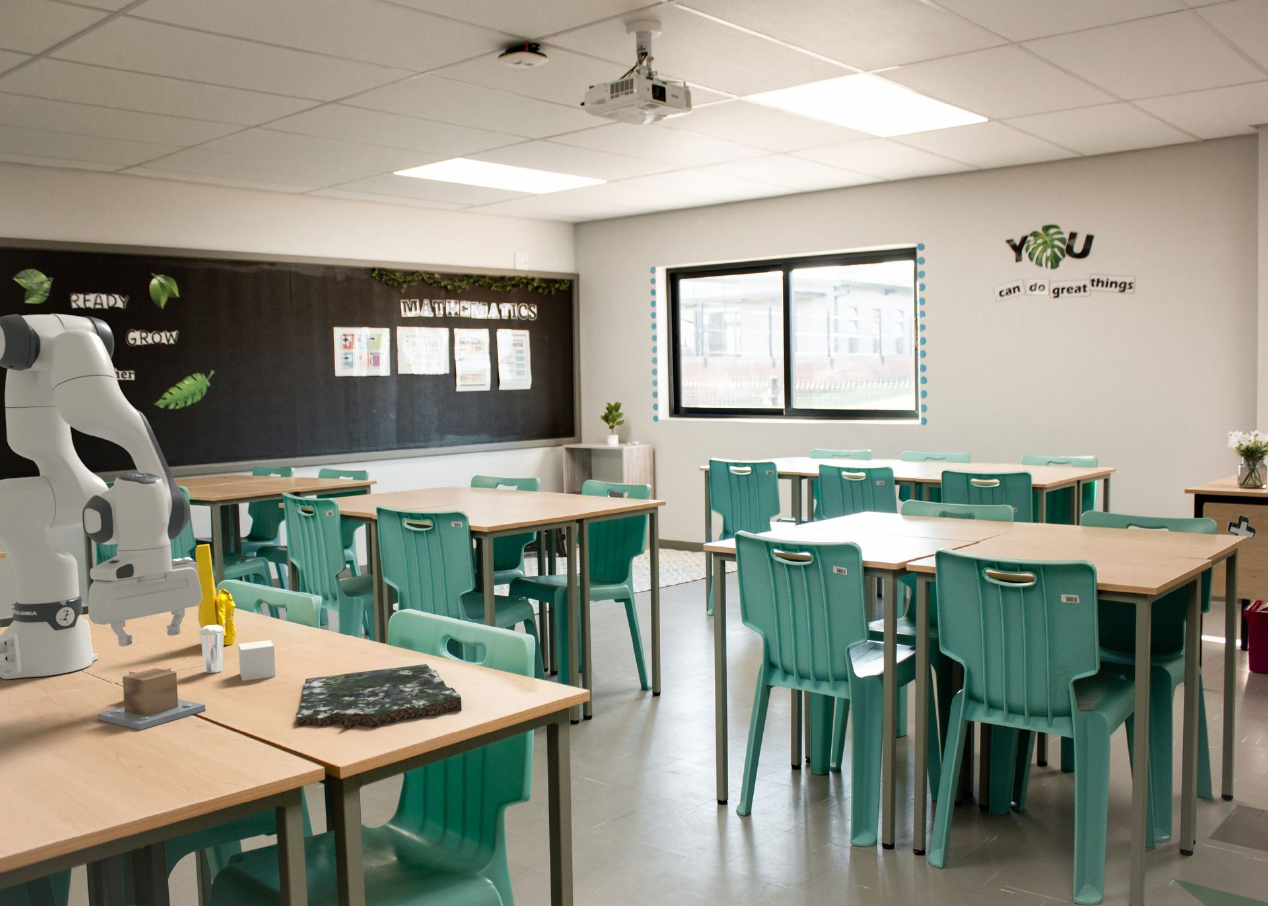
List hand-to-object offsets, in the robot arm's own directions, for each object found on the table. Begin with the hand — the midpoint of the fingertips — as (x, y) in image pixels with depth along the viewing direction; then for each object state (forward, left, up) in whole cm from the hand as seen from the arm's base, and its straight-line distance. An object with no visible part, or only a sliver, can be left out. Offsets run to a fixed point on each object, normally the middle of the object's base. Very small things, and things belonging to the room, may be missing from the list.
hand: (150, 640), depth 192 cm
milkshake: (-6, +17, -11) cm, 21 cm away
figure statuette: (-27, +33, -11) cm, 44 cm away
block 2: (+10, -7, -9) cm, 16 cm away
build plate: (+10, -7, -10) cm, 16 cm away
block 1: (-1, 0, -11) cm, 11 cm away
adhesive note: (+4, +19, -11) cm, 22 cm away
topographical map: (+37, +17, -11) cm, 43 cm away
